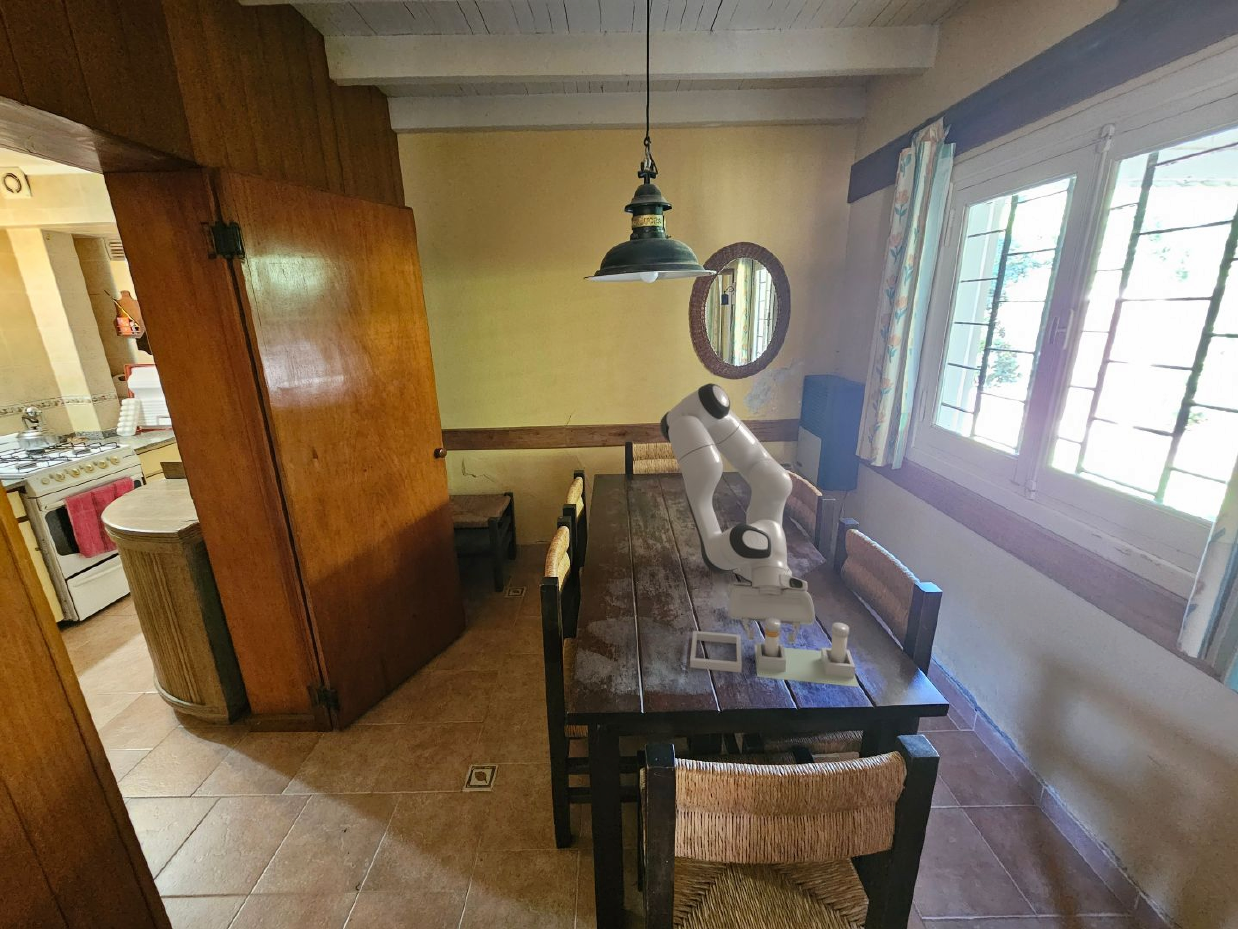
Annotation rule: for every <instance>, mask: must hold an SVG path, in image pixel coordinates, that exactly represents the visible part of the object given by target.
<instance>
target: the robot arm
mask: <svg viewBox="0 0 1238 929" xmlns="http://www.w3.org/2000/svg"><path fill="white" fill-rule="evenodd" d="M730 408H731V401H730V398H729V396H728V394H727V393H726V391H725V390H724V389H723V388H722V386H720V385H718V384H717V383H711V382H710V383H707V384H704V385H702V386H700V387H699V388H698V389H697V390H695V391H693V392H691V393H690V394H688V395H687V396H686V397H684V398H683V399H682V400H681V401H679V402H678V403H677V404H676V405H675V406H673V408H671V410H670V411H667V412H666V413H665V414H664V415H663V416H662V417H661V419H660V425H659V426H660V427H659V430H660V433H661V435H662V436H663V438H664V439H665V440H666V441H667V442H669V443H670V446H671V449H672V452H673V454H674V457H675V460H676V462H677V464H678V466H679V468H680V472H681V475H682V477H683V483H684V488H685V496H686V497H685V498H686V501H687V504H688V507H689V510H690V513H691V514H690V515H691V517H692V520H693V523H694V525H695V529H696V531H697V535H698V537H699V541H700V552H701V557H702V561H703V563H704V564H705V565H706V567H707V569H709V570H710V571H711V572H713V573H714V574H717V575H721V576H723V575H728V574H730V573H732V572H733V574H736V575H740V576H741V577H742V578H744V579H746V580H748V581H738V580H737V581H733V582H730V583H729V584H728V585H727V587H726V595H727V597H728V598H729V600H728V608H727V610H728V611H727V615H728V617H729V618H730V619H731V620H739V621H742V626H743V628H744V629H745V632H746V634H747V635H746V638H747V640H753V641H754V640H755V635H754V634H755V632H754V631H753V630H751V629H750V627H749V623H750V621H751V622H764V623H765V619H766V618H770V617H772V618H776V619H778V620H780V622H781V624H785V625H786V624H787V625H792V629H793V632H792V633H789V634H788V635H787V639H788V640H787V642H788V644H796V635H797V633H798V631H799V629H800V627H801V625H803V626H811V625H813V624H814V622H815V620H816V612H815V606H814V603H813V602H814V601H813V598H812V596H811V594H810V593H809V592H807V591H808V586H809V585H808V582H807V581H806V580H803V579H801V578H797V577H794V576H793V571H792V570H791V569H790V567H789V566H788V560H787V559H788V553H787V552H788V551H787V550H788V548H787V540H786V534H785V531H784V529H783V515H784V509H785V505H786V501H787V499H788V498H789V496H790V495H791V493H792V491H793V482H792V478H791V476H790V474H789V472H788V471H787V469H785V468H784V467H783V466H782V465H781V464H780V463H779V462H777V461H776V460H775V458H773V457H772V455H771V454H770V453H769V452H768V451H767V450H766V448H765V447H764V446H763V445H762V443H761V442H760V441H759V440H758V437H756V436H755V435H754V434H753V432H752V431H751V430H750V429H749V428H748V427H747V425H745V423H744V422H743V421H742V420H741V419H740V418H739V417H738V415H737V414H735V413H734V411H732V410H731V409H730ZM721 455H722V456H723V457H724V459H726V461H727V462H728V463H729V464H730V465H731V466H732V467H733V468H734V469H735V470H736V471H737V472H738V473H739V475H740V476H741V477H742V479H744V480H745V481H746V482H747V484H748V485H749V486H750V489H751V496H750V502H749V505H748V507H747V509H746V518H745V519H746V521H745V523H739V524H736V525H734V526H732V527H730V528H728V529H726V530H724V531H723V532H722V530H721V527H720V524H719V522H718V518H717V515H716V512H715V511H714V510H715V509H714V508H713V497H714V492H715V490H716V487H717V486H718V484H719V482H720V479H721V477H722V475H723V471H724V463H723V459H722V457H721Z"/></svg>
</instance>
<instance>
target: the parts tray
mask: <svg viewBox="0 0 1238 929" xmlns="http://www.w3.org/2000/svg"><path fill="white" fill-rule="evenodd" d="M691 639H692V641H691V648H690V657H689V658H690V660H689V668H690V669H691V668H692V669H702V670H709V671H711V670H712V671H722V672H732V673H733V672H734V673H742V671H743V669H742V668H743V665H742V663H743V662H742V661H743V660H742V644H741V643H742V642H741V640H742V639H741V634H735V633H734V634H732V633H722V632H713V631H711V632H710V631H701V630H700V631H698V630H692V638H691ZM698 641H700V642H702V641H703V642H712V643H713V642H714V643H723V644H725V643H726V644H736V645H735V646H736V661H729V660H721V659H720V660H719V659H709V658H699V657H696V654H697V643H698Z"/></svg>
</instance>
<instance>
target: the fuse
mask: <svg viewBox="0 0 1238 929" xmlns="http://www.w3.org/2000/svg"><path fill="white" fill-rule="evenodd" d="M849 633H850V627H849V626H848V625H847V624H845V623H842V622H834V623H832V624H831V635H832V636H831V645H830V648H831V655H830V659H829V662H833V663H844V664H846V663H845V657H846V650H847V644H848V637H849V635H850V634H849Z"/></svg>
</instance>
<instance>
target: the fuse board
mask: <svg viewBox="0 0 1238 929" xmlns="http://www.w3.org/2000/svg"><path fill="white" fill-rule="evenodd" d="M764 646H765V642H762V641H761V642H760V641H757V642H756V644H754V646H753V647H754V656H755V667H756V668H755V669H756V677H757V678H765V679H775V680H783V681H794V682H803V683H815V684H824V685H835V686H843V687H844V686H845V687H846V686H847V687H856V688H860V686H859V683H858V680H857V676H856V674H855V673H856V672H855V671H856V665H855V662H854V660H853V659H854V658H853V657H852V654H851V651H850V649H846V657H845V663H846V664H844V663H833V662H829V659H830V655H831V647H823V646H822V647H821V650H815V649H804V648H803V649H802V648H792V647H791V648H790V647H785V645H784V644H783V643H779V647H778V656H779V658H778V657H766V656H763V654H764Z"/></svg>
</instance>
